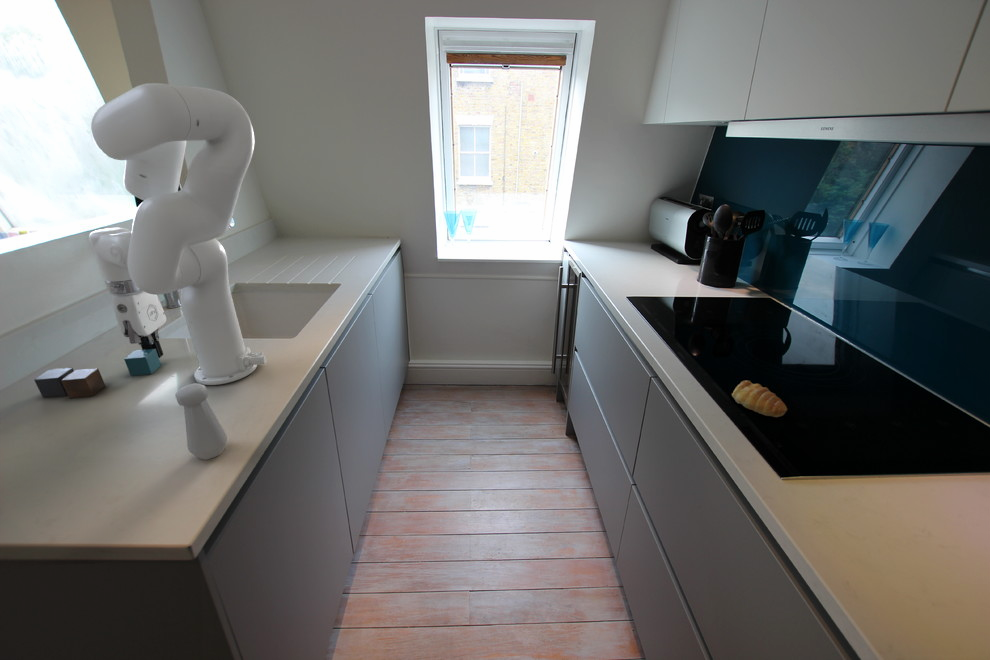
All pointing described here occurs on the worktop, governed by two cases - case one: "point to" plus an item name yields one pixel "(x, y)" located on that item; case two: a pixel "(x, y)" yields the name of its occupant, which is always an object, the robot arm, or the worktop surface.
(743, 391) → the pastry
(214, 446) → the salt shaker
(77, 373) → the walnut block
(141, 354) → the teal block
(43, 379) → the charcoal block
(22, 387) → the worktop surface
